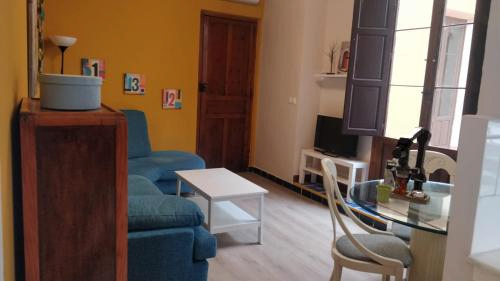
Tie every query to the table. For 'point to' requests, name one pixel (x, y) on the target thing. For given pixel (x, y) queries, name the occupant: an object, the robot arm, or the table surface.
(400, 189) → the soda can
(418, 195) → the tin
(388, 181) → the coffee box
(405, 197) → the rack
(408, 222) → the table surface
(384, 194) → the plant pot
